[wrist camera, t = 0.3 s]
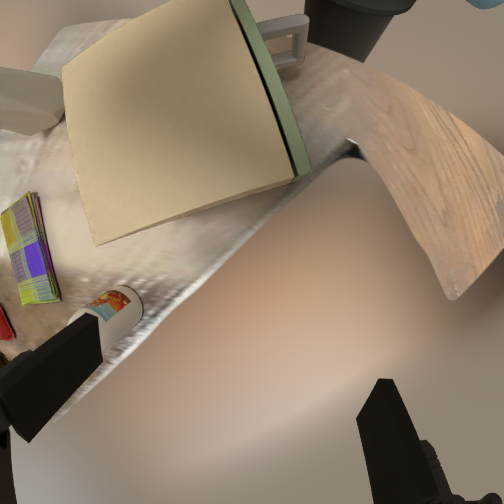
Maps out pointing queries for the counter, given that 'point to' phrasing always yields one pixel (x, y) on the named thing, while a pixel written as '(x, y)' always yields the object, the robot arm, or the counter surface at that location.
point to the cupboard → (169, 120)
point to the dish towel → (29, 251)
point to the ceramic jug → (2, 360)
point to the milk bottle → (113, 314)
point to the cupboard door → (270, 77)
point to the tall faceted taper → (29, 101)
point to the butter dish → (5, 328)
